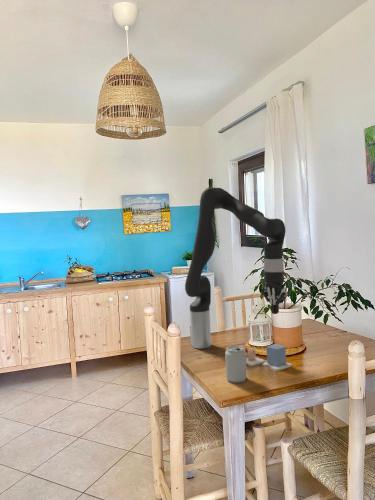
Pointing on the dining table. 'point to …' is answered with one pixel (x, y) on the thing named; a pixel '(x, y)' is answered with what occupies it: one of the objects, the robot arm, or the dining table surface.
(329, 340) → the dining table surface
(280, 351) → the blue-grey block
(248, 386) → the dining table surface
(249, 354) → the short post
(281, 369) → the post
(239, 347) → the can
